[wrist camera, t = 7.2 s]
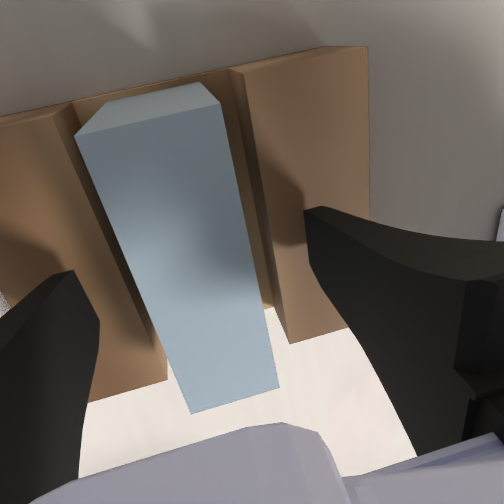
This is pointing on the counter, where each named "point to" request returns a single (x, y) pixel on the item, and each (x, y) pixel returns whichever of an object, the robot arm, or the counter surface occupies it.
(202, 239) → the pale blue tapered bar
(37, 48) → the counter surface
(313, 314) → the slot block
